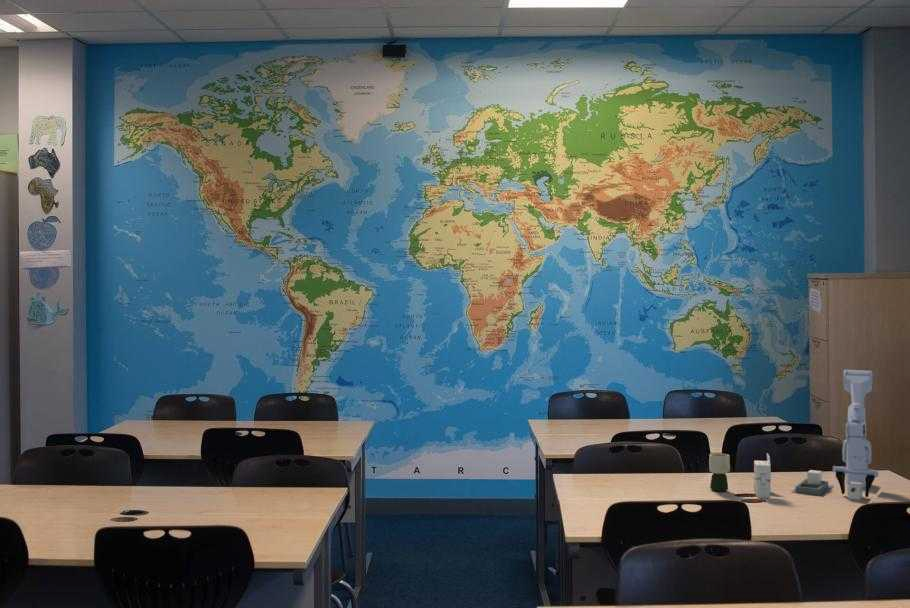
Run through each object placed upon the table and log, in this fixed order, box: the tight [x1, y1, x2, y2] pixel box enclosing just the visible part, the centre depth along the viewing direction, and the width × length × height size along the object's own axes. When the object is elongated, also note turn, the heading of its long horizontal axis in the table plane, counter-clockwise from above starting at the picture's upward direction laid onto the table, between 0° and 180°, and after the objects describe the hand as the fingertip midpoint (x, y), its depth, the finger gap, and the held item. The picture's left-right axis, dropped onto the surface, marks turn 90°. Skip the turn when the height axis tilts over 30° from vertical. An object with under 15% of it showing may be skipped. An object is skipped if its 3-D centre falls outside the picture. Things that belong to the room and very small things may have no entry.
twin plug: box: [806, 469, 823, 485], centre depth 332 cm, size 7×4×6 cm, turn 147°
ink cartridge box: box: [753, 452, 772, 499], centre depth 323 cm, size 9×5×15 cm, turn 168°
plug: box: [847, 482, 863, 501], centre depth 315 cm, size 7×4×6 cm, turn 147°
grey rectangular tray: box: [790, 478, 835, 498], centre depth 329 cm, size 20×11×3 cm, turn 147°
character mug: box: [708, 452, 731, 492], centre depth 331 cm, size 11×7×13 cm, turn 23°
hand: (854, 494), depth 316 cm, fingers open, 7 cm apart
